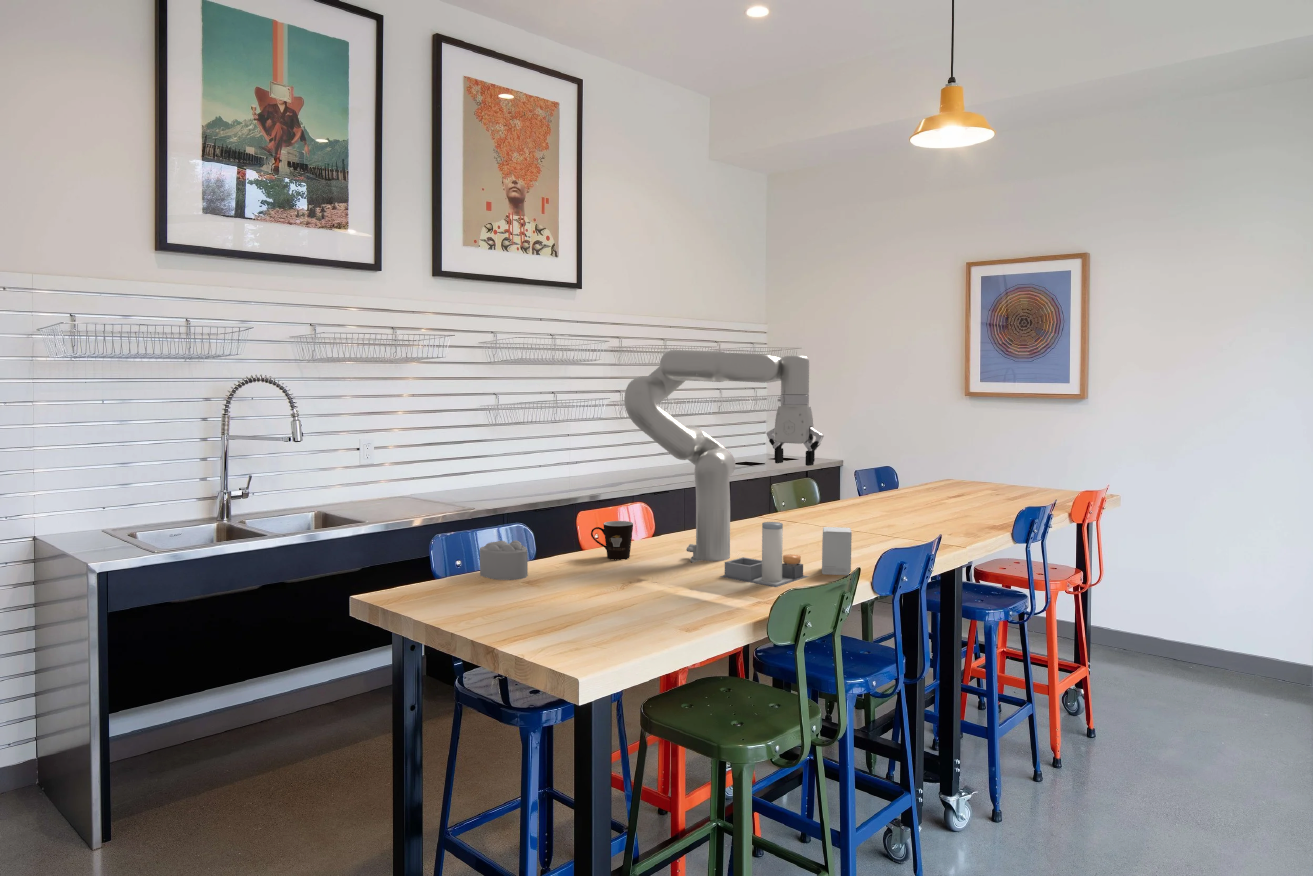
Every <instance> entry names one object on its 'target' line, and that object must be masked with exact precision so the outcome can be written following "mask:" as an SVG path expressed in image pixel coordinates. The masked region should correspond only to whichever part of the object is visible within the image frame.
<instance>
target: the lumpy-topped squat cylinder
mask: <svg viewBox="0 0 1313 876" xmlns="http://www.w3.org/2000/svg"><path fill="white" fill-rule="evenodd" d="M528 564H529V563H528V548H527V547H526V546H524V545H522V543H521V542H520V541H519V540H515V539H514V540H512V541H511V542H510V543H509V542H507V541H505V540H497V541H491V542H488V543H486V544H485V545H483V546H481V547H480V548H479V572H480V573H479V575H480V577H484V578H487V579H490V580H498V581H501V580H502V581H512V580H513V581H514V580H515V581H517V580H522V579H523V580H524V579H526V578H527V577H528V574H529V573H528Z"/></svg>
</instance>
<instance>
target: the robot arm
mask: <svg viewBox="0 0 1313 876" xmlns="http://www.w3.org/2000/svg"><path fill="white" fill-rule="evenodd" d="M686 381H689V382H690V381H691V382H707V383H709V382H710V383H711V382H713V383H723V382H739V383H740V382H745V383H762V384H765V383H767V384H768V383H776V382H780V396H778V397H777V402H779V403H780V406H779V405H778V406H777V409H776V414H775V419H774V420H775V421H774V428H772V429H770V430H769V431H767V432H766V436H767V439H768V442H769V444H770V445H771V446H772V449H773V450H774V456H773V457H774V463H775V464H783V463H784V448H783V446H784V444H798V445H801V444H803V445H804V447H805V448H806V451H805V463H804V464H805V466H807V467H809V466H814V463H815V457H816V455H815V451H816V450H817V449H818V448H819V446H821V444H822V442H823V438H824V437H825V436H824V434H823V433H821V432H820V431H818V430H816V429H815V428H814V418H813V411H812V408H811V406H810V359H809V357H807V356H806V355H786V356H776V355H772V354H763V353H762V354H760V353H759V354H756V353H735V352H734V353H732V352H725V351H718V350H697V349H695V350H693V349H692V350H691V349H670V350H668V351H666V352H664V353H663V355H662V356H661V358H660V360H659V366H658V367H657V368H655V370H654V371H653V372H651V373H649V375H644V376H643V375H642V376H638V377H635V378H634V379H631V381H630V382H629V383H628V384H627V386H626V387H625V392H624V400H623V402H624V408H625V411H626V413H627V415H628V418H629V419H630V420H631V422H632V423H633V424H634V425H635V426H636V427H637V428H638V429H639V430H640V431H642V432H643V433H644V434H646V435H647V436H648V437H649V438H650V439H651V440H653V441H654V442H655V443H656V444H658V446H660V447H661V448H663V449H664V450H666V451H667V452H668V453H669V454H670V455H671V456H672V457H674V458H675V459H677V460H681V461H689V462H690V463H691V464H693V465H694V485H695V528H696V529H695V544H693V543H690V544H688V546H687V547H686V550H685V551H686V552H689V553H692V556H691V557H690V563H697V562H700V561H706V562H707V561H708V562H720V561H727V560H730V558H731V490H730V477H731V476H732V475H733V474H734V471H735V468H736V459H735V457H734V455H733V454H732V453H731V452H730V451H729V449H727V448H726V447H725V446H723V445H722V444H721V443H720V442H719V441H717V440H715V439H714V438H713V437H712V436H710V435H709V434H708V433H706V431H704V430H702V429H701V428H699V427H697V426H696V425H695V426H694V425H691V424H690V425H689V424H688V425H684V424H683V423H681V422H680V421H679V420H677V419H676V418H674V417H673V416H672V415H671V414H670V413H668V412H667V411H666V410H664V409H662V408H661V407H660V406H659V405H658V404H660V403H662V402H663V401H664V400H665V399H667V398H668V397H669V396H670V395H672V394H673V393H674V392H675V391H676V390H678V388H680V386H682V385H683V384H684V383H685V382H686ZM814 437H815V440H814Z"/></svg>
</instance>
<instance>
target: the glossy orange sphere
mask: <svg viewBox="0 0 1313 876" xmlns="http://www.w3.org/2000/svg"><path fill="white" fill-rule="evenodd" d="M782 563H787V565H789V566H796V565H797V564H798V563H800V564H802V562H801V555H799V554H795V553H794V554H791V553H789V554H782Z"/></svg>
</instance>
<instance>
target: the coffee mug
mask: <svg viewBox="0 0 1313 876" xmlns="http://www.w3.org/2000/svg"><path fill="white" fill-rule="evenodd" d="M633 529H634V522H632V521H627V520H611V521H605V522H604V523H603V527H600V526H597V527H594V528H592V529H591V531H590V535H591V538H592V540H594V542H595V543H597V544H598V545H600V546H601V547H603V548H604V549H605V550H606V556H607V557H606V558H607V559H608V560H611V559H614V560H613V561H622V560H621V559H625V560H628V559H627V558H629V557H631V554H630V553H631V546H632V541H633V540H632V539H633V538H632V537H633ZM596 530H600V531H601V532H602V534H603V535H604V540H605V544H603V543H602V542H600V541H599V540H597V539H596V538H595V536H594V531H596ZM615 559H616V560H615ZM629 559H630V558H629Z"/></svg>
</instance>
